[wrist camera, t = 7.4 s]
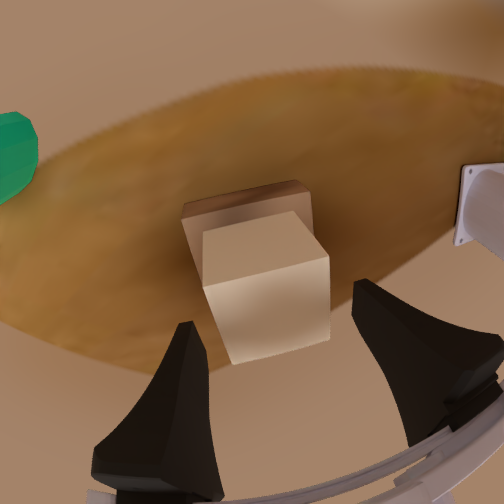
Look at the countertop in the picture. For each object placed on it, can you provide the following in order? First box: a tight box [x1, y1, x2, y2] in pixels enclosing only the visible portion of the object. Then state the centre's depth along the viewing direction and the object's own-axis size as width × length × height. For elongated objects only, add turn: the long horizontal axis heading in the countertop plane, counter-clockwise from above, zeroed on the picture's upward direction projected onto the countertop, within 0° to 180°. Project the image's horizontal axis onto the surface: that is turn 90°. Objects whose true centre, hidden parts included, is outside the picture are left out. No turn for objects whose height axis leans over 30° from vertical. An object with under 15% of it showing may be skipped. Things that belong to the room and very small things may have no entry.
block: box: [203, 211, 330, 365], centre depth 14 cm, size 5×5×5 cm
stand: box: [181, 180, 314, 317], centre depth 17 cm, size 7×7×2 cm
